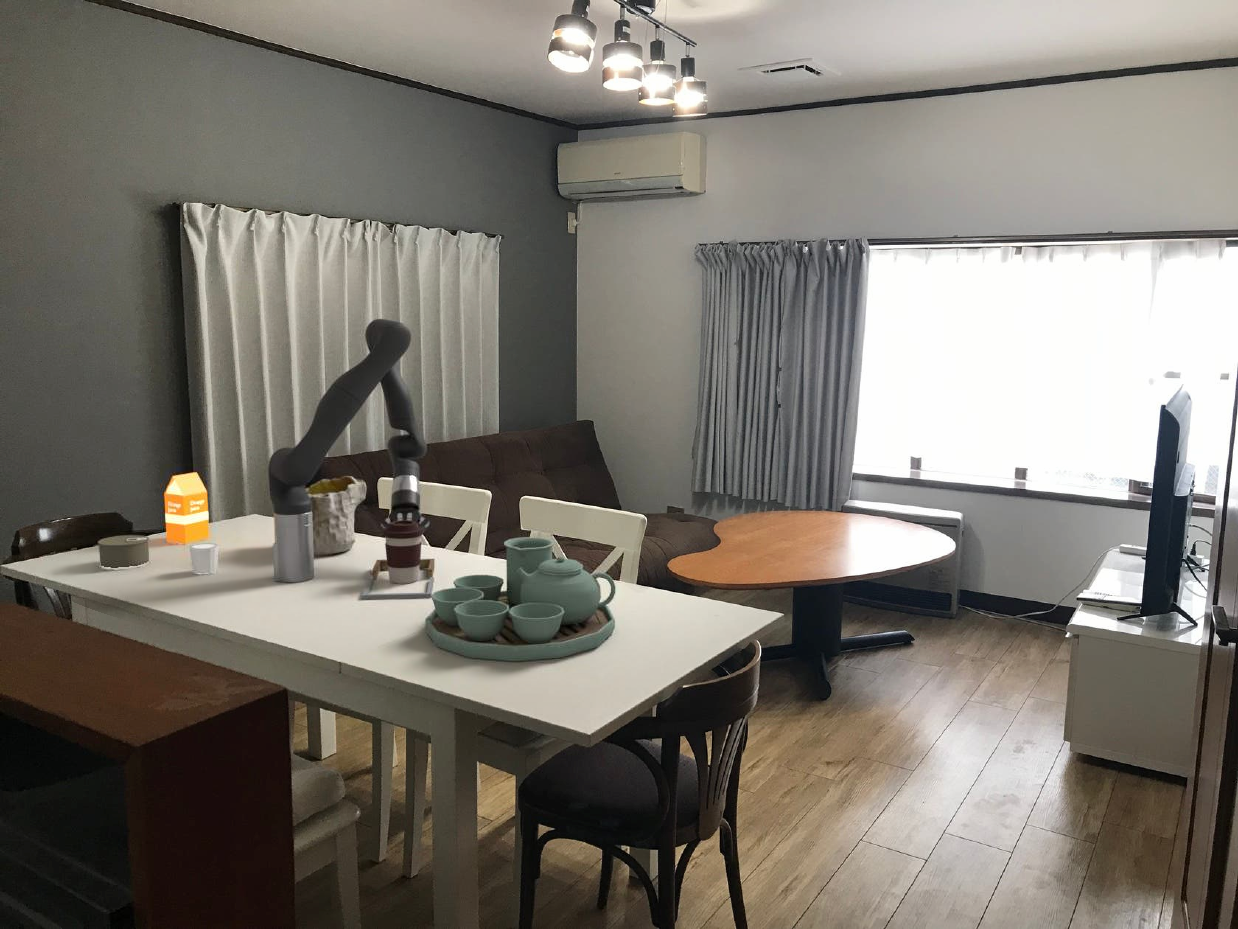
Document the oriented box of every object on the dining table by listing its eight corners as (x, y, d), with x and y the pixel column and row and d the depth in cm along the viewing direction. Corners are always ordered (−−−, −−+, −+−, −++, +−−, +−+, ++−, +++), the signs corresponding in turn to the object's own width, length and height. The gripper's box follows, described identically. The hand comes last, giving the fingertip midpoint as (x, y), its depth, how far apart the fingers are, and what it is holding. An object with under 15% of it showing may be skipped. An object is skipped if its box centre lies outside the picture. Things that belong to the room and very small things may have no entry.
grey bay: (362, 599, 226) (361, 595, 226) (369, 582, 241) (369, 578, 240) (431, 597, 228) (430, 593, 228) (434, 581, 243) (433, 577, 243)
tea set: (402, 620, 212) (400, 547, 210) (563, 596, 232) (564, 530, 229) (467, 678, 178) (466, 592, 176) (649, 645, 198) (651, 567, 195)
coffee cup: (401, 588, 236) (400, 528, 234) (375, 581, 242) (374, 522, 240) (432, 579, 244) (431, 522, 242) (406, 573, 250) (405, 517, 248)
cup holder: (372, 580, 243) (372, 570, 242) (377, 569, 254) (376, 559, 253) (432, 579, 245) (432, 569, 244) (434, 567, 256) (434, 558, 256)
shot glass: (206, 576, 244) (205, 550, 243) (184, 574, 246) (183, 547, 245) (225, 570, 250) (224, 544, 249) (204, 568, 252) (203, 542, 251)
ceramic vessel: (244, 530, 259) (276, 452, 271) (290, 568, 279) (317, 494, 292) (318, 535, 253) (347, 455, 265) (358, 574, 273) (384, 497, 285)
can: (100, 562, 257) (98, 537, 256) (149, 557, 263) (148, 533, 262) (99, 572, 247) (97, 546, 246) (150, 567, 252) (149, 542, 251)
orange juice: (209, 539, 286) (206, 472, 283) (185, 545, 278) (182, 477, 275) (190, 536, 289) (187, 470, 286) (166, 542, 281) (162, 474, 278)
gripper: (379, 488, 252) (376, 545, 242) (430, 487, 254) (429, 543, 244) (381, 504, 258) (379, 560, 248) (431, 503, 260) (431, 558, 250)
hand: (404, 552), depth 246 cm, fingers closed
